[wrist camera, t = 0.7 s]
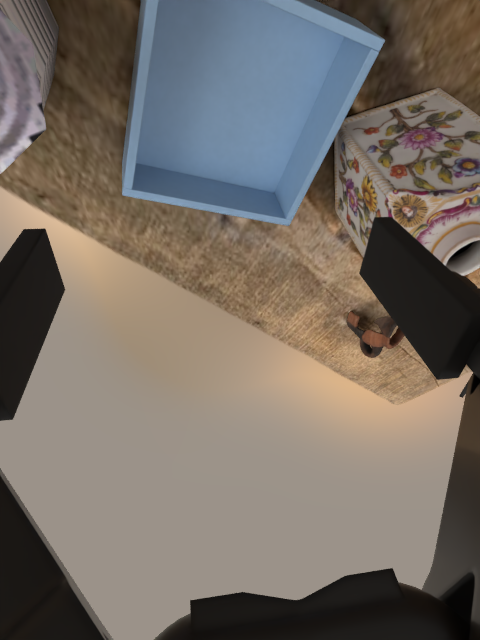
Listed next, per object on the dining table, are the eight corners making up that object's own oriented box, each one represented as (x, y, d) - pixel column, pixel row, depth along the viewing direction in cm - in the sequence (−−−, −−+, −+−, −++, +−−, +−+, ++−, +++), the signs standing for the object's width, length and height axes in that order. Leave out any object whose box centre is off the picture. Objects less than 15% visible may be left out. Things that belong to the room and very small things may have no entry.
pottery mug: (348, 299, 64) (390, 321, 59) (380, 281, 68) (422, 300, 63) (337, 351, 71) (374, 375, 66) (368, 332, 76) (404, 352, 70)
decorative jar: (332, 210, 48) (394, 318, 37) (329, 120, 38) (412, 227, 27) (423, 182, 47) (515, 282, 36) (443, 83, 38) (575, 177, 27)
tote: (149, -76, 25) (154, -64, 22) (356, 19, 32) (385, 40, 28) (122, 163, 38) (122, 195, 34) (275, 196, 44) (289, 226, 41)
